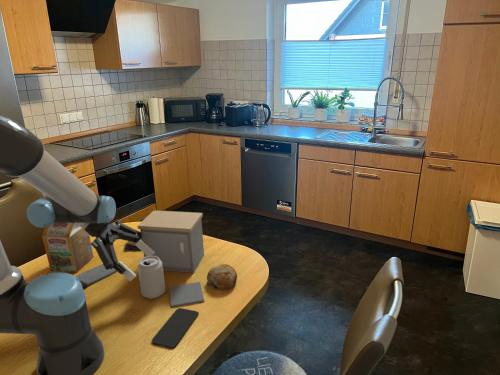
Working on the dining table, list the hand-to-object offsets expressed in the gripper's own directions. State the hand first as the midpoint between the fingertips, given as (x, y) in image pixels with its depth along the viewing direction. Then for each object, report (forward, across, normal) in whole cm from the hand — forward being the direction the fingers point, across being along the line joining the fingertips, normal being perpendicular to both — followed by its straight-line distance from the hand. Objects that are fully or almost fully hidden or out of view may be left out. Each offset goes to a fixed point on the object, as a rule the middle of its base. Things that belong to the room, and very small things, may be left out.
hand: (143, 266), depth 119 cm
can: (+8, +2, -4) cm, 9 cm away
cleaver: (-10, 0, -24) cm, 26 cm away
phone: (+18, +16, +6) cm, 25 cm away
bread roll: (+23, -7, +11) cm, 26 cm away
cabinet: (+9, -17, -3) cm, 19 cm away
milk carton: (-17, -11, -31) cm, 37 cm away
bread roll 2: (-4, -26, -18) cm, 32 cm away
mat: (+16, +2, +4) cm, 16 cm away
